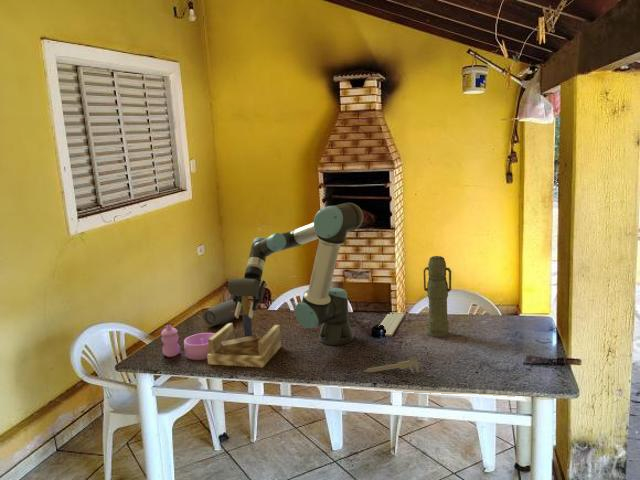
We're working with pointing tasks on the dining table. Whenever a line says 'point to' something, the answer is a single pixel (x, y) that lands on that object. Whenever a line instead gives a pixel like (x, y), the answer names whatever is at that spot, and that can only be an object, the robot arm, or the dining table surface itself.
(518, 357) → the dining table surface
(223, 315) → the bluetooth speaker
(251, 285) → the rubber mallet
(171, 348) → the container set
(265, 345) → the pine rack
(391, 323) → the baseboard
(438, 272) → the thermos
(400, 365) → the caliper
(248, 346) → the top offcut
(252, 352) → the middle offcut
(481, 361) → the dining table surface
